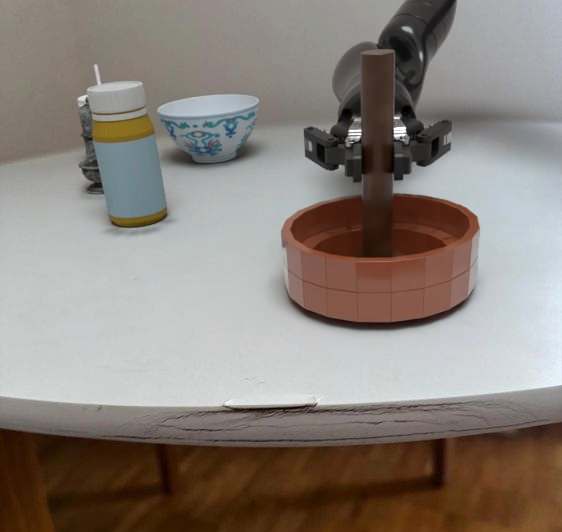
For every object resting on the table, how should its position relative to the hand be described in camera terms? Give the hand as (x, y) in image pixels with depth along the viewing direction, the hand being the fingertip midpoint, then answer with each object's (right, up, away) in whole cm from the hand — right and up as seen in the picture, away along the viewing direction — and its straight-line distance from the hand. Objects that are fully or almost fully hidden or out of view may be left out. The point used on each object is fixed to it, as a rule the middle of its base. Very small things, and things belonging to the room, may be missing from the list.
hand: (377, 168), depth 54 cm
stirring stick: (+1, -7, +8) cm, 10 cm away
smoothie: (-34, +17, +55) cm, 67 cm away
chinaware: (-18, +17, +52) cm, 58 cm away
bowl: (+1, -8, +8) cm, 12 cm away
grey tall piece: (-32, +10, +42) cm, 54 cm away
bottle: (-25, +3, +30) cm, 39 cm away
